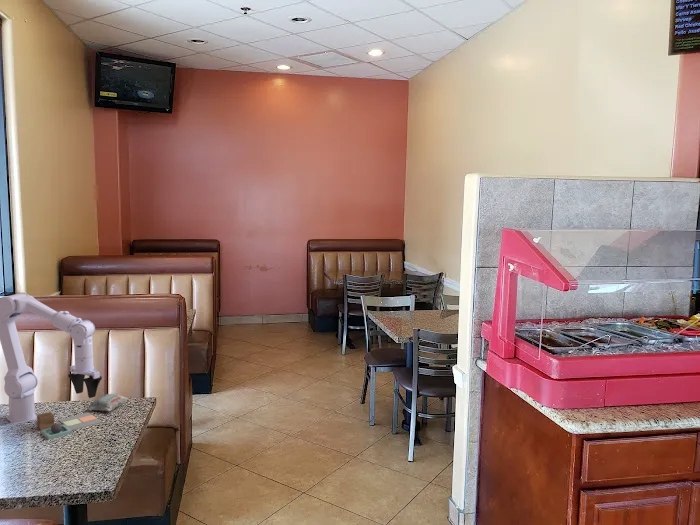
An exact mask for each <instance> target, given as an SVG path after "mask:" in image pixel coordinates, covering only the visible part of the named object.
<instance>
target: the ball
mask: <svg viewBox="0 0 700 525" xmlns="http://www.w3.org/2000/svg"><path fill="white" fill-rule="evenodd" d="M61 425H62V424H60V423H54V425H52V427H51V432H52V433H54V434H57V433H59V432H60V431H61V430H62V426H61Z"/></svg>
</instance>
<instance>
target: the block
mask: <svg viewBox="0 0 700 525" xmlns="http://www.w3.org/2000/svg"><path fill="white" fill-rule="evenodd" d="M36 415H37V419H36V423H37V428H38V430H40V431H41V430H44V429H48V428H51V427H52V425H54V424H55V414H53V413H52V412H51V411H48V412H43V413H40V414H36Z"/></svg>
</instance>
